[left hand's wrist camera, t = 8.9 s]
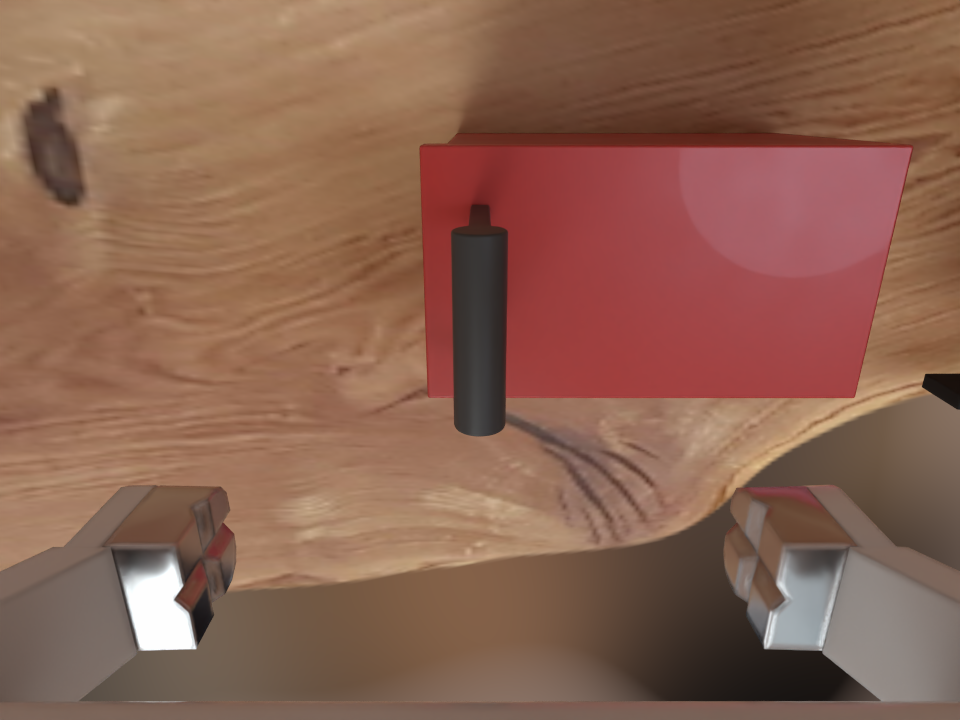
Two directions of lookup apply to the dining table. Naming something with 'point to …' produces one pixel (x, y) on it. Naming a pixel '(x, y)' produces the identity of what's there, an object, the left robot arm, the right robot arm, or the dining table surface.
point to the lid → (651, 270)
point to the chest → (642, 138)
